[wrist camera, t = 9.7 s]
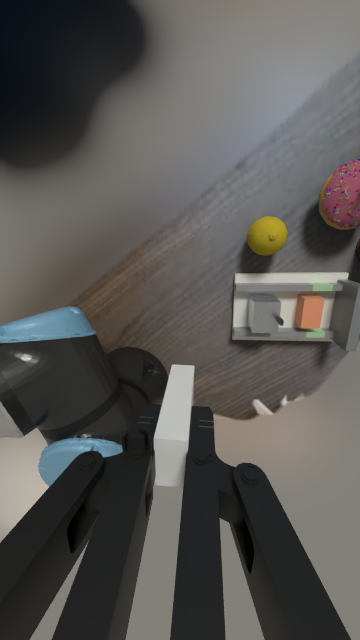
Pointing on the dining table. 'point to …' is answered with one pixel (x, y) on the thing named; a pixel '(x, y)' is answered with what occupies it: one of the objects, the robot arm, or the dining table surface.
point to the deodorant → (358, 249)
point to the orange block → (309, 311)
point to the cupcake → (342, 197)
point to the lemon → (267, 235)
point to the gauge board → (338, 311)
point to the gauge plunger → (264, 314)
